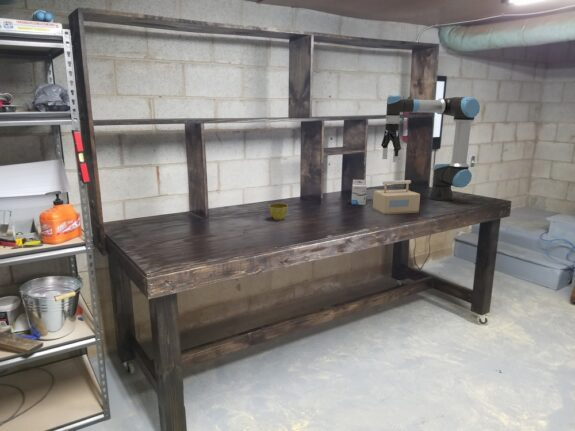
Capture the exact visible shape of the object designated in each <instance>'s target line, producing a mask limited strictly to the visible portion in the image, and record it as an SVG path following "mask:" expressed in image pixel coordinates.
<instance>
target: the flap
mask: <svg viewBox="0 0 575 431" xmlns="http://www.w3.org/2000/svg"><path fill="white" fill-rule="evenodd" d="M411 183H412V180H410V179H405V180H383V181H382V185H384V186H383V187H384V188H383V190H374V192H376V193H399V192H413V191H411V190H410V189H409V188H410V186H409V185H410V184H411ZM388 185H406V186H405V189H389V190H388V189H387V188H388Z"/></svg>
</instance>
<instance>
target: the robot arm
mask: <svg viewBox="0 0 575 431" xmlns="http://www.w3.org/2000/svg"><path fill="white" fill-rule="evenodd" d="M480 106H481V105H480V102H479V101H478V99H477V98H475V97H472V96H454V97H446V98H445V97H444V98H438V99H415V98H402V96H401V95H400V94H399V95H397V94H389V95H388V96H387V99H386V115H385V122H386V123H385V128H384V134H383V138H382V141H381V144H380V145H381V146H380V147H382V160H388V147H389V144H390V142H391V143H392V146H393V151H392V152H393V153H392V154H393V155H392V163H398V162H399V151H401V150H402V147H401V146H402V145H401V141H400V140H401V139H400V132H397V131H399V130H400V124H399V123H400V118H401V113H410V114H413V113H428V114H429V113H436V114H437V115H444V116H450V117H453V122H454V123H455V126H454V127H455V128H454V135H453V148H452V156H451V162H450V163H436V164H435V165H434V167H433V175H432V177H433V178H432V184H431V186H432V187H431V188H430V191H429V193H428V199H430V200H433V201H439V202H440V201H441V202H447V201H448V202H450V201H453V199H454V195H453V191H452V187H453V188H454V187H455V188H459V189H461V188H462V189H463V188H465V187H467V186H468V185H469V184H470V183H471V181H472V178H473V177H472V176H473V175H472V171H470V169H469V167H470V166H469V164H468V162H467V161H468V153H469V144H470V136H471V128H472V126H471V125H472V123H473V122H474V121H475V117H477V116H478V114H479V113H480V110H481V107H480Z"/></svg>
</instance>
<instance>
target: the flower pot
mask: <svg viewBox="0 0 575 431" xmlns="http://www.w3.org/2000/svg"><path fill="white" fill-rule="evenodd" d="M288 207H289V205H288V204H285V203H272V204H268V209H269V212H270V215H271V217H272V219H274V220H275V221H276V220H277V221H281V220H284V218H285V216H287V215H286V214H287V212H288V209H289V208H288Z"/></svg>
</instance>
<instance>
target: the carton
mask: <svg viewBox="0 0 575 431" xmlns="http://www.w3.org/2000/svg"><path fill="white" fill-rule="evenodd" d="M372 200H373V201H372V209H373V210H374V211H376V212H377V213H380V214H382V215H397V214H399V215H400V214H401V215H402V214H415V213H419V211H420V202H421V194H420V193H419V192H415V191H412V192H399V193H376V192H375V191H374V192H373V199H372Z"/></svg>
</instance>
